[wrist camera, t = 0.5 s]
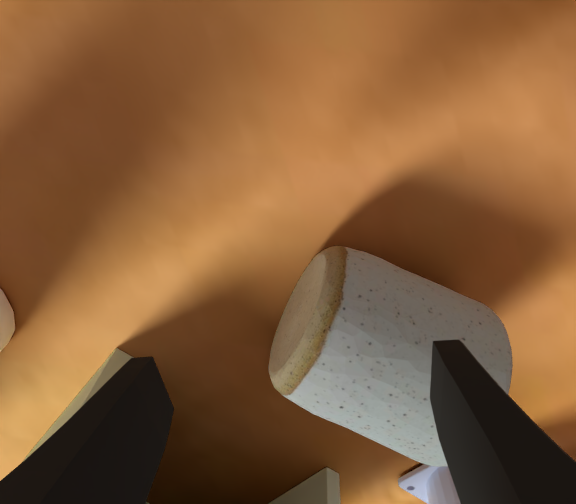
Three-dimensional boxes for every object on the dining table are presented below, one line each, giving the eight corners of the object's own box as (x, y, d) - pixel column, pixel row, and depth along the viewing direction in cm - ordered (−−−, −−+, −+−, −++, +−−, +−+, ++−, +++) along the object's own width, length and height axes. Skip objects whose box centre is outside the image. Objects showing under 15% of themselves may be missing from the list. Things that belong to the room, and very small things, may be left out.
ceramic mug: (330, 207, 19) (334, 316, 12) (478, 272, 20) (552, 402, 14) (248, 353, 24) (221, 483, 18) (370, 398, 26) (386, 534, 19)
